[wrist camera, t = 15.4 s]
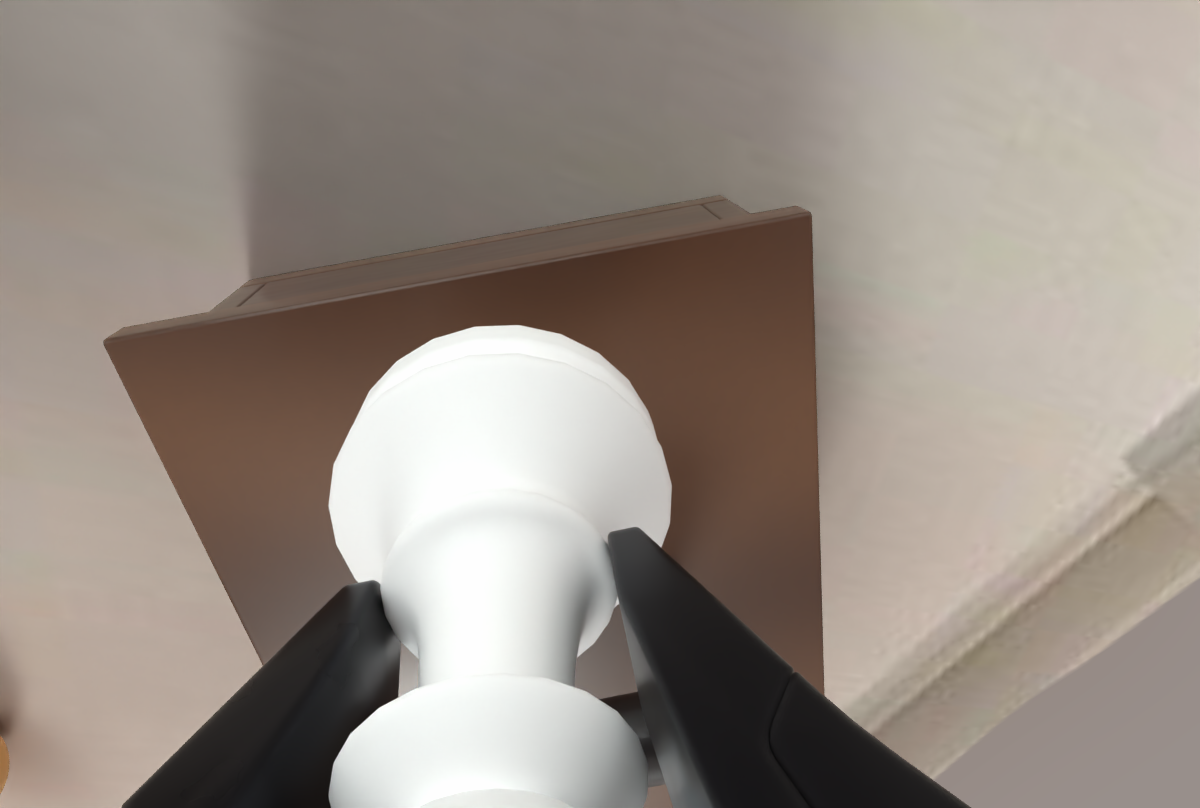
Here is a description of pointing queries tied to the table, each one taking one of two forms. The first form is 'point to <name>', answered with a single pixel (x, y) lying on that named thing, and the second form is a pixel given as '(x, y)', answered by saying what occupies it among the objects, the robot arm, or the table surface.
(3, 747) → the figurine
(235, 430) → the lid
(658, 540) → the chess pawn
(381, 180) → the table surface
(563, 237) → the chest
